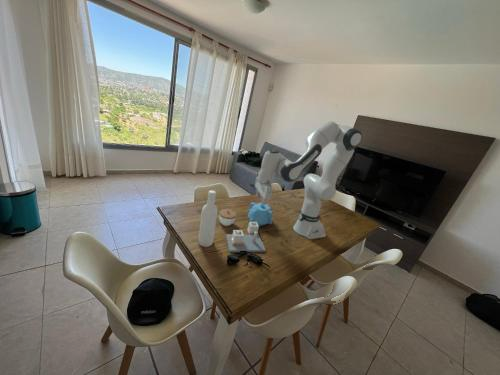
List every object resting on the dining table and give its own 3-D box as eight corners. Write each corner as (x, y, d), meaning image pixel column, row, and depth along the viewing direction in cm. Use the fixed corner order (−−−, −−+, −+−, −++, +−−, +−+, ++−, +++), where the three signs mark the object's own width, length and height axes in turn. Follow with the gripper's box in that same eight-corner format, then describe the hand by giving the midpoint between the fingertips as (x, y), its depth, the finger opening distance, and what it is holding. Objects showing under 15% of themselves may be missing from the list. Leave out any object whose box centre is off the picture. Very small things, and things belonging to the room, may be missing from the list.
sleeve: (255, 229, 131) (257, 221, 129) (257, 235, 126) (259, 226, 124) (246, 229, 129) (248, 221, 127) (248, 235, 124) (250, 226, 122)
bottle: (194, 242, 108) (200, 191, 97) (203, 235, 115) (210, 187, 104) (207, 249, 106) (214, 196, 95) (215, 241, 112) (223, 192, 102)
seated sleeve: (240, 238, 117) (242, 229, 115) (242, 245, 112) (244, 236, 110) (230, 238, 116) (232, 229, 113) (232, 245, 110) (234, 236, 108)
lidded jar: (214, 223, 129) (216, 210, 125) (224, 217, 138) (226, 204, 134) (228, 230, 125) (230, 217, 121) (237, 223, 134) (240, 211, 130)
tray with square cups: (258, 236, 125) (260, 225, 122) (265, 251, 112) (268, 240, 110) (225, 235, 119) (227, 224, 116) (229, 252, 107) (231, 240, 104)
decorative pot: (271, 230, 134) (276, 212, 129) (246, 225, 133) (251, 207, 128) (268, 217, 150) (273, 200, 145) (247, 213, 148) (250, 196, 143)
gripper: (277, 186, 107) (270, 209, 112) (265, 173, 125) (260, 193, 130) (266, 184, 105) (259, 208, 110) (255, 171, 123) (250, 192, 128)
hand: (260, 200), depth 120 cm, fingers open, 8 cm apart
